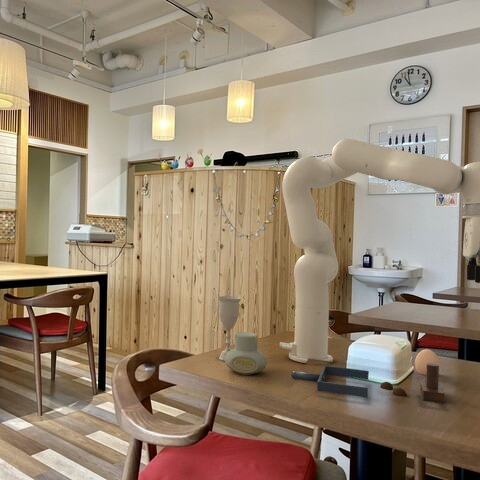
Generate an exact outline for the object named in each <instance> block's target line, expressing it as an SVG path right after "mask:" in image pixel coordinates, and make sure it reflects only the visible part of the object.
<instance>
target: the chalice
mask: <svg viewBox="0 0 480 480" xmlns="http://www.w3.org/2000/svg"><path fill="white" fill-rule="evenodd" d="M217 299H218V315H219V316H218V317H219V319H220V322H221V324H222V327H223V328H224V329H225V330H226V334H225V339H226V340H225V341H224V343H225V345H226V347H225V349H224V350H222V351H221V352H220V354H219V355H220V356H219V357H218V360H220V361H224V362H225V356H226V354H227V353H228V352H229V351H230V350H232V349H231V348H230V346H231V343H232V342H231V340H230V339H231V337H232V335H231V330H232V329H234V327H235V326H236V323H237V321H238V319H239V316H240V302H241V299H242V297H241V296H233V295H220V296H217Z"/></svg>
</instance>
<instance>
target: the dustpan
mask: <svg viewBox="0 0 480 480" xmlns="http://www.w3.org/2000/svg"><path fill="white" fill-rule="evenodd" d="M369 374H370V371H369V370H365V369H357V368H350V367H349V368H348V367H341V366H340V367H339V366H334V365H323V367H322V370H321V373H320V374H319V373H311V372H310V373H309V372H304V371H297V370H295V371H292V372H291V374H290V376H291V379H293V381H294V380H295V381H297V380H302V381H308V382H317V387H316V388H317V389H316V390H317V391H318V392H326V393H333V394H339V395H345V396H353V397H359V398H364V399H365V398H369V394H368V393H369V387H366V386H365V387H364V386H358V385H357V386H356V385H351V384H343V383H338V382H337V383H335V382H328V381H326V376H327V375H331V376H339V377H346V378H353V379H361V380H367V381H368V380H369V378H370V377H369V376H370V375H369Z"/></svg>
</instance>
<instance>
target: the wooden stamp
mask: <svg viewBox="0 0 480 480" xmlns="http://www.w3.org/2000/svg"><path fill="white" fill-rule="evenodd" d="M439 377H440V370H439V365H437V364H433V363H427V366H426V375H425V381H422V380H420V381H419V385H420V386H419V392H420V395H421V398H422V401H424V402H429V403H430V402H431V403H436V404H445V396H446V393H445V391H444V389H443V386H442V385H441V383H439V379H440V378H439Z"/></svg>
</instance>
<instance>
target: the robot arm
mask: <svg viewBox="0 0 480 480" xmlns="http://www.w3.org/2000/svg"><path fill="white" fill-rule="evenodd" d="M356 174H361V175H362V174H363V175H365V176H369V177H373V178H377V179H380V180H386V181H400V182H405V183H410V184H414V185H417V186H421V187H423V188H429V189H431V190H434V191H435V192H436V193H438V194H442V195H451V194H457V193H459V194H460V193H462V202H461V203H462V204H461V205H462V207H461V208H462V209H461V210H462V212H461V219H463V220H464V219H465V223H464V230H463V231H464V232H463V247H462V256H463V257H464V258H467V263H466V280H468V281H474V282H475V283H476V284H480V161H476V162H470V163H467V164H466V165H463V166H462V165H457V164H456V163H454V162H452V161H450V160H448V159H443V158H439V157H436V156H431V155H426V154H421V153H416V152H411V151H406V150H402V149H397V148H392V147H388V146H382V145H378V144H374V143H370V142H366V141H362V140H358V139H353V138H345V139H341V140H339V141H338V142H336V143H335V145H334V146H333V148H332V151H331V156H329V157H327V158H325V159H322V160H320V159H318V158H315V157H312V156H303V157H300V158H297V159H296V160H295V161H294V162H292V163H291V164H290V165H289V166H288V168H287V169H286V171H285V172H284V175H283V178H282V183H281V184H282V185H281V191H282V198H283V201H284V206H285V211H286V219H287V222H288V227H289V233H290V238H291V242H292V243H293V244H294V246H295V247H297V249H302V250H303V253H304V254H303V255H302V256H300V257H299V258H298V259H297V261H296V262H295V265H294V269H293V279H294V288H295V290H294V291H295V302H294V303H295V305H294V306H295V309H294V310H295V311H294V317H295V318H294V341H293V342H290V343H287V342H283V341H282V342H281V341H280V342H279V349H280V350H282V351H289V353H288V359H290V360H291V361H294V362H298V363H301V364H307V362H308V360H309V359H310V360H315V361H324V362H332V363H333V362H334V357H333V356H332V355H330V354H328V352H329V351H328V349H329V322H330V321H329V319H330V317H329V315H330V293H329V292H330V291H329V283H330V282H332V281H334V280H335V278H336V277H337V276H338V273H339V262H338V257H337V253H336V248H335V243H334V238H333V234H332V231H331V229H330V227H329V225H327V223H326V222H325V221H323V220H321V219H319V217H318V214H317V209H316V203H315V200H314V197H313V194H312V191H311V190H312V189H314V190H321V189H326V188H328V187H330V186H332V185H335V184H337V183H339V182H341V181H343V180H346V179H348V178H350V177H352V176H353V175H356ZM311 188H312V189H311Z"/></svg>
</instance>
